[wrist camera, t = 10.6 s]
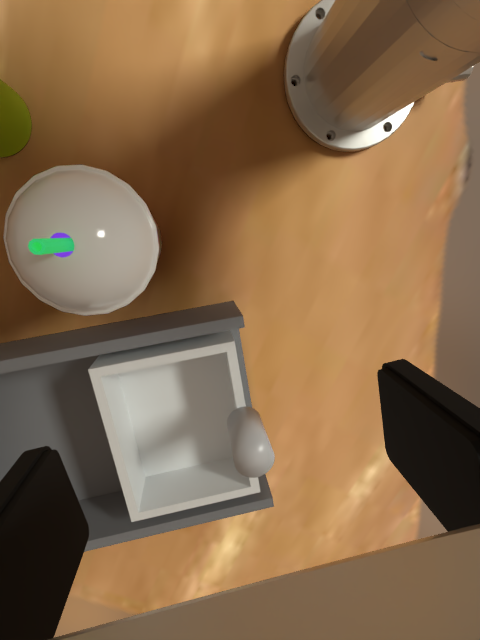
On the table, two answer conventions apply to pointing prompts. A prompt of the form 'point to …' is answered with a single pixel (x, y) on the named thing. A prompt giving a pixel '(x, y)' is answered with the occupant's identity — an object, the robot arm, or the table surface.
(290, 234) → the table surface
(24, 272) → the smoothie
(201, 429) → the drawer
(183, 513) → the bay
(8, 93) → the soap dispenser
